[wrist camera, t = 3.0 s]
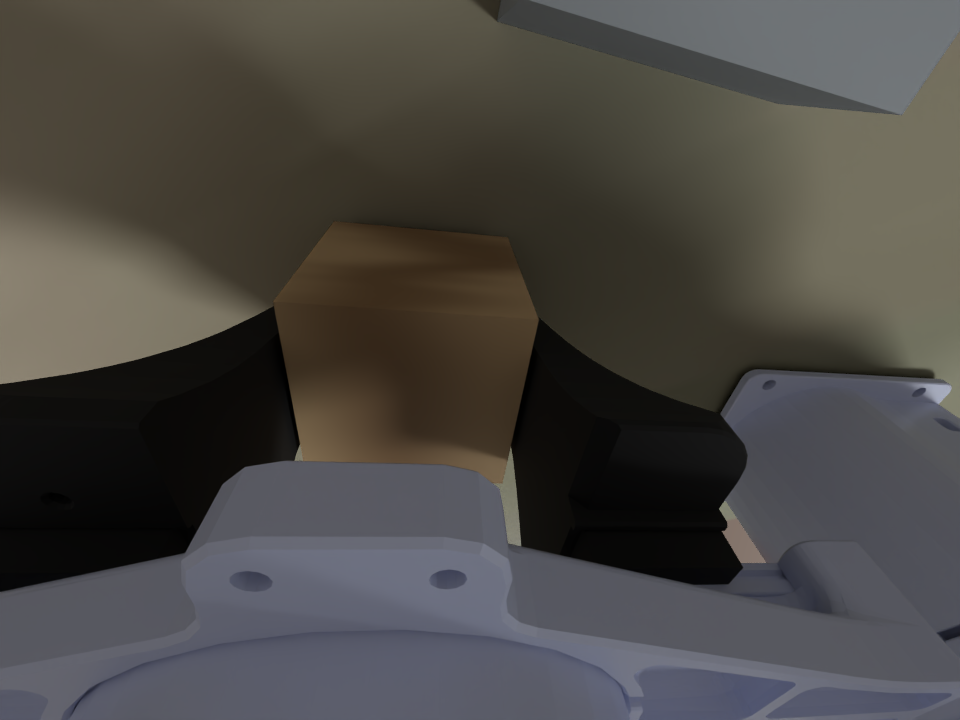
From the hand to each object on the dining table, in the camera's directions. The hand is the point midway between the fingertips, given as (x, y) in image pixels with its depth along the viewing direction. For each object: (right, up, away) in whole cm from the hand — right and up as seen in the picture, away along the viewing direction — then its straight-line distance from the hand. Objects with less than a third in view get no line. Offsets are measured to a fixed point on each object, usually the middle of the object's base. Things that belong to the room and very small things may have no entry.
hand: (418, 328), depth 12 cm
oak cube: (0, +1, +1) cm, 1 cm away
